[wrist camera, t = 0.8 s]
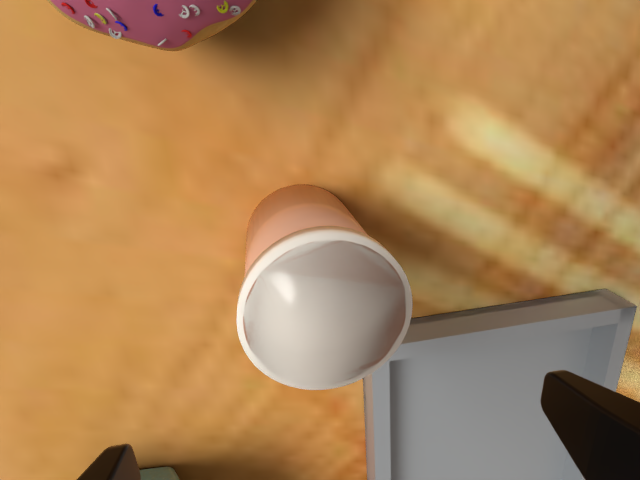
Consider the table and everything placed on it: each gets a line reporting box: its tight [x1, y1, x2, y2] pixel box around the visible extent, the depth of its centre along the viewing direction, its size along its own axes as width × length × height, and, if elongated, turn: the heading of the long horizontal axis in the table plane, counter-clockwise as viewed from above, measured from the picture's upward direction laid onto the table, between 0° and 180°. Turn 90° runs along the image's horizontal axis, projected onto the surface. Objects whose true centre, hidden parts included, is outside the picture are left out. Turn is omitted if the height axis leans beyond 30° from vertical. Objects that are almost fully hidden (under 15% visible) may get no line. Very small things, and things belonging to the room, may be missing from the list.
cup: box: [237, 185, 413, 390], centre depth 17 cm, size 6×6×8 cm
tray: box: [363, 289, 637, 480], centre depth 27 cm, size 16×20×2 cm
